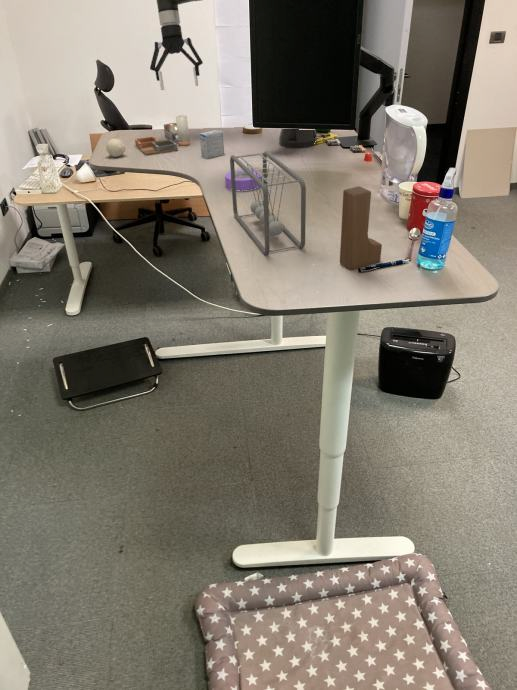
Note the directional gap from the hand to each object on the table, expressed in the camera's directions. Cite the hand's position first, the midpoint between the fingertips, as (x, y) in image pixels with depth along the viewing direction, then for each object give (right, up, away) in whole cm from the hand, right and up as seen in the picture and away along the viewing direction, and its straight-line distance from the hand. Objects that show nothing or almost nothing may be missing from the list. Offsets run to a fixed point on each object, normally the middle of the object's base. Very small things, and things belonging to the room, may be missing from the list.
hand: (179, 87), depth 212 cm
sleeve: (0, -18, +11) cm, 21 cm away
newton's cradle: (+33, -70, -65) cm, 101 cm away
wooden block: (+55, -81, -82) cm, 128 cm away
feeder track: (-5, -12, +21) cm, 24 cm away
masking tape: (+26, -48, -33) cm, 64 cm away
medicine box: (+13, -28, -3) cm, 31 cm away
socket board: (-11, -20, +9) cm, 25 cm away
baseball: (-25, -26, +1) cm, 36 cm away
